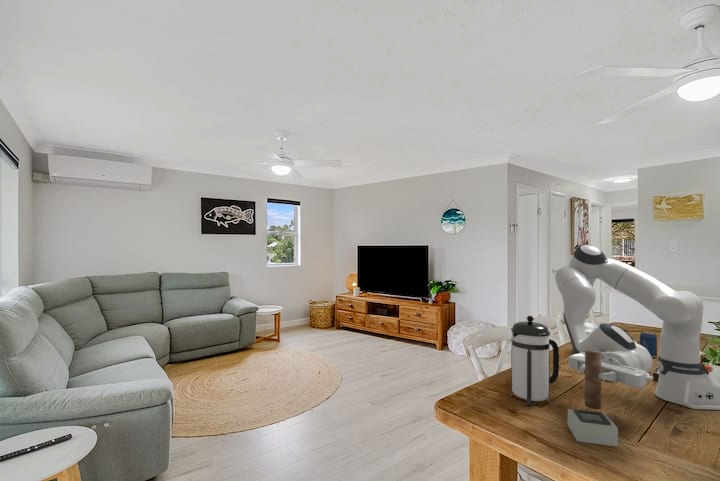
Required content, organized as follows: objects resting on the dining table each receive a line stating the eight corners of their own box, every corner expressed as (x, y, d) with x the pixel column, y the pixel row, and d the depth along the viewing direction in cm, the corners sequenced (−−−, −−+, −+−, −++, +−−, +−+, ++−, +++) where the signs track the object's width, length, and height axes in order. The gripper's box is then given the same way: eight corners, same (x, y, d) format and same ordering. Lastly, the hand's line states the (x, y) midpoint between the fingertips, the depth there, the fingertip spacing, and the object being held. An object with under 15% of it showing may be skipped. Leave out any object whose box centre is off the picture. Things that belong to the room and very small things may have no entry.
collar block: (604, 429, 112) (604, 410, 112) (618, 446, 102) (617, 426, 102) (567, 425, 115) (567, 406, 115) (577, 441, 105) (577, 421, 105)
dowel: (600, 405, 109) (600, 350, 109) (601, 410, 106) (602, 354, 106) (584, 402, 111) (584, 348, 111) (585, 407, 108) (585, 351, 108)
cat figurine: (586, 346, 209) (586, 316, 210) (608, 350, 202) (608, 319, 202) (573, 355, 192) (573, 322, 192) (596, 359, 184) (596, 325, 184)
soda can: (656, 355, 192) (656, 332, 192) (658, 359, 186) (657, 335, 186) (639, 353, 195) (639, 330, 196) (640, 356, 190) (640, 333, 190)
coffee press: (555, 412, 123) (555, 321, 124) (504, 401, 132) (504, 316, 132) (559, 395, 138) (559, 314, 138) (513, 386, 146) (513, 310, 147)
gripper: (656, 388, 106) (631, 397, 99) (583, 367, 124) (558, 374, 117) (656, 366, 106) (631, 374, 99) (583, 348, 124) (558, 353, 117)
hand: (591, 373), depth 108 cm, fingers closed on dowel, 4 cm apart
